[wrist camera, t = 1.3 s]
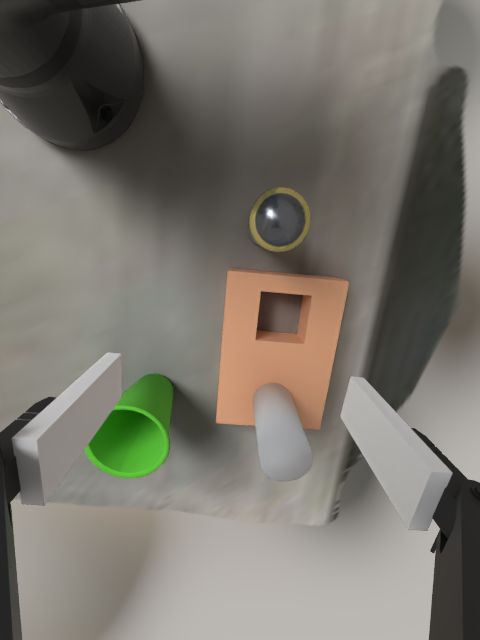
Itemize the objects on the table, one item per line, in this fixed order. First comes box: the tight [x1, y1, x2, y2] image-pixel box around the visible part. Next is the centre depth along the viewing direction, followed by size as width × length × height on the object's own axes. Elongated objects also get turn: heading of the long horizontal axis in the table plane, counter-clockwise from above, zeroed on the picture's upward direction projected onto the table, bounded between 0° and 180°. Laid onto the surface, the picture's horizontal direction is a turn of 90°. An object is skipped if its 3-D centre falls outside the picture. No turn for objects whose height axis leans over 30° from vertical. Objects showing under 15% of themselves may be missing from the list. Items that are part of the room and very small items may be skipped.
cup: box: [85, 374, 174, 478], centre depth 33 cm, size 9×9×11 cm
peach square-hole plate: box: [216, 268, 349, 481], centre depth 30 cm, size 20×14×14 cm
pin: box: [248, 187, 311, 252], centre depth 27 cm, size 5×5×12 cm
